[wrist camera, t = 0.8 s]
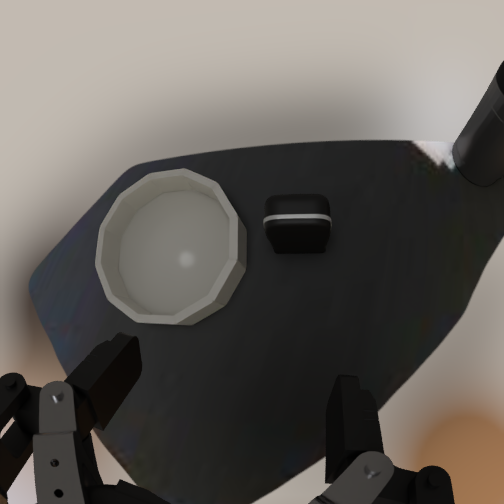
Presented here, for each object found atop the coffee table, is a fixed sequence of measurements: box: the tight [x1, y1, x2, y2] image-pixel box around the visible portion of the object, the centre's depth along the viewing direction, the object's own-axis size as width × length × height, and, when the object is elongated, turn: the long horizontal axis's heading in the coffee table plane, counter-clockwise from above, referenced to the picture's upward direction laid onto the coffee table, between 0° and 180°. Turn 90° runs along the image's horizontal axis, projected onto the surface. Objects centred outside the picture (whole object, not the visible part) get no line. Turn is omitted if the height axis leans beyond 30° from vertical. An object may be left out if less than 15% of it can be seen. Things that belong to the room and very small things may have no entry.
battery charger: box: [263, 194, 332, 253], centre depth 35 cm, size 7×4×11 cm, turn 88°
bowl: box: [95, 168, 247, 325], centre depth 40 cm, size 20×20×6 cm
